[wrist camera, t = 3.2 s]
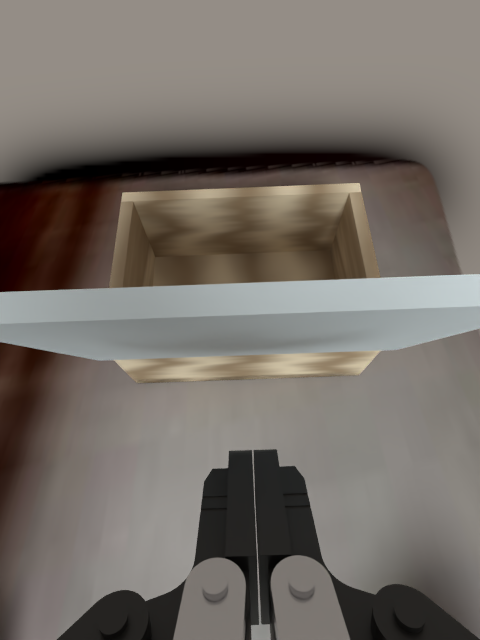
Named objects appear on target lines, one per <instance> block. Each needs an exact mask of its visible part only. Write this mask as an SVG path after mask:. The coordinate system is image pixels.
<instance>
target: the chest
mask: <svg viewBox="0 0 480 640" xmlns="http://www.w3.org/2000/svg"><path fill="white" fill-rule="evenodd" d="M365 278H380V274H379V269H378V265H377V260H376V256H375V251H374V247H373V242H372V238H371V233H370V229H369V224H368V220H367V216H366V211H365V207H364V202H363V198H362V193H361V189H360V184H359V183H349V184H324V185H299V186H275V187H250V188H225V189H201V190H176V191H151V192H127V193H122V200H121V207H120V214H119V221H118V228H117V235H116V243H115V250H114V257H113V264H112V271H111V278H110V285H109V288H127V287H153V286H180V285H206V284H233V283H259V282H285V281H312V280H338V279H365ZM379 352H380V351H353V352H325V353H297V354H269V355H241V356H213V357H185V358H157V359H129V360H114V361H115V362H116V363H117V364H118V365H119V366H120V367H121V368H122V369H123V370H124V371H125V372H126V373H127V374H128V375H129V376H130V377H131V378H132V379H133V380H134V381H135V382H136V383H155V382H184V381H212V380H241V379H269V378H298V377H327V376H355V375H359V374H360V373H361V372H362V371H363V370H364V369H365V368H366V367H367V366H368V364H369V363H370V362H371V361H372V360H373V359H374V358H375V357H376V355H377V354H378V353H379Z"/></svg>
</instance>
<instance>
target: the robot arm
mask: <svg viewBox="0 0 480 640" xmlns="http://www.w3.org/2000/svg"><path fill="white" fill-rule="evenodd" d="M254 475H255V504H256V524H257V544H258V564H259V584H260V604H261V623H262V624H270V633H271V640H480V639H478V638H477V637H476V636H475V635H474V634H472V633H471V632H470V631H469V630H467V629H466V628H465V627H464V626H462V625H461V624H460V623H459V622H457V621H456V620H455V619H454V618H452V617H451V616H450V615H449V614H447V613H446V612H445V611H444V610H442V609H441V608H440V607H439V606H437V605H436V604H435V603H434V602H433V601H431V600H430V599H429V598H428V597H426V596H425V595H424V594H422V593H421V592H419V591H417V590H416V589H414V588H411V587H409V586H405V585H400V584H392V585H388V586H385V587H383V588H382V589H380V590H379V591H378V593H377V594H376V595H374V594H371V593H367V592H364V591H361V590H358V589H355V588H352V587H349V586H347V585H345V584H343V583H342V582H340V581H339V580H338V579H336V578H335V577H334V576H333V575H332V574H331V573H330V571H329V570H328V569H327V567H326V566H325V564H324V562H323V559H322V556H321V552H320V547H319V543H318V538H317V534H316V529H315V525H314V520H313V516H312V511H311V508H310V502H309V498H308V494H307V489H306V484H305V480H304V478H303V476H302V475H301V474H300V472H299V471H298V470H297V469H296V467H295V466H286V467H279V462H278V455H277V450H276V449H273V450H254ZM251 625H259V614H258V581H257V550H256V529H255V508H254V486H253V465H252V450H244V451H229V465H228V468H225V469H212V471H211V472H210V474H209V475H208V477H207V478H206V480H205V481H204V488H203V499H202V505H201V513H200V521H199V530H198V538H197V546H196V555H195V561H194V565H193V568H192V570H191V572H190V574H189V575H188V577H187V578H186V580H185V581H184V582H183V583H182V584H181V585H179V586H178V587H177V588H176V589H174V590H172V591H171V592H168V593H166V594H164V595H161V596H158V597H156V598H153V599H150V600H148V601H145V600H144V599H143V598H142V596H140V595H139V594H138V593H135V592H133V591H129V590H121V591H116V592H113V593H110V594H108V595H106V596H105V597H103V598H102V599H100V600H99V601H98V602H97V603H95V604H94V605H93V606H92V607H91V608H90V609H89V610H88V611H87V612H86V613H85V614H84V615H83V616H82V617H81V618H79V619H78V620H77V621H76V622H75V623H74V624H73V625H72V626H71V627H70V628H69V629H68V630H67V631H66V632H65V633H64V634H62V635H61V636H60V637H59V638H58V639H57V640H251Z"/></svg>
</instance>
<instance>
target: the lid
mask: <svg viewBox="0 0 480 640" xmlns="http://www.w3.org/2000/svg"><path fill="white" fill-rule="evenodd" d="M476 329H480V274H472V275H444V276H418V277H391V278H365V279H338V280H312V281H285V282H259V283H233V284H206V285H180V286H153V287H127V288H100V289H74V290H48V291H21V292H0V342H4V343H9V344H14V345H20V346H25V347H30V348H35V349H41V350H46V351H51V352H57V353H62V354H67V355H72V356H78V357H83V358H88V359H94V360H99V361H101V360H129V359H157V358H185V357H213V356H241V355H269V354H297V353H325V352H353V351H381V350H398V349H402V348H406V347H410V346H413V345H417V344H421V343H425V342H429V341H433V340H437V339H441V338H445V337H449V336H452V335H456V334H460V333H464V332H468V331H472V330H476Z"/></svg>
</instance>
